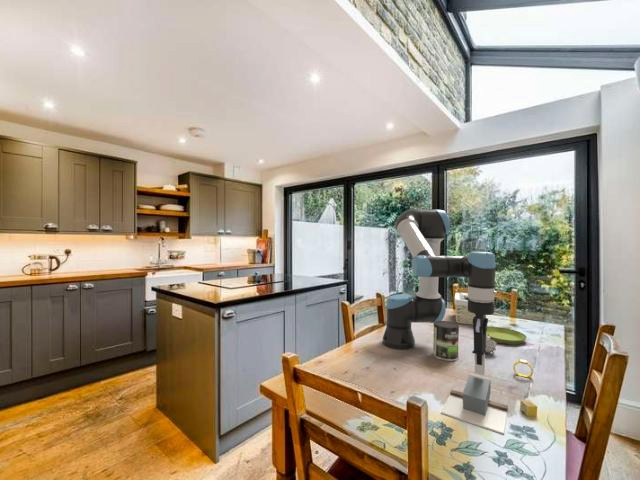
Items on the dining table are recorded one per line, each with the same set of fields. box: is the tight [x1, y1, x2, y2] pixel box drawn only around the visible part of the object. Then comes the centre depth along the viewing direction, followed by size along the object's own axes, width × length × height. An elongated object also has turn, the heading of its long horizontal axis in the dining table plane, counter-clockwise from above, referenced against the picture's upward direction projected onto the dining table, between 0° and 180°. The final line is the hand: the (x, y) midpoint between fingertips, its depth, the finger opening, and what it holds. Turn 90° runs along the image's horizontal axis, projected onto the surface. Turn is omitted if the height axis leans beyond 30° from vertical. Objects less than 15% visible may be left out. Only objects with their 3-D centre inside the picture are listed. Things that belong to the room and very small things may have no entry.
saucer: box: [486, 326, 528, 345], centre depth 154 cm, size 21×21×3 cm
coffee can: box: [432, 320, 460, 362], centre depth 131 cm, size 10×10×14 cm
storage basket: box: [454, 292, 475, 326], centre depth 187 cm, size 24×16×15 cm
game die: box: [485, 334, 499, 355], centre depth 135 cm, size 9×8×10 cm
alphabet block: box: [519, 399, 538, 417], centre depth 90 cm, size 3×3×3 cm
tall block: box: [462, 373, 492, 416], centre depth 93 cm, size 6×5×11 cm
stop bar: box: [449, 389, 509, 413], centre depth 95 cm, size 16×2×1 cm, turn 54°
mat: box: [440, 394, 508, 435], centre depth 89 cm, size 16×12×1 cm
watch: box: [512, 359, 534, 378], centre depth 113 cm, size 6×3×6 cm, turn 59°
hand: (479, 373), depth 97 cm, fingers closed
